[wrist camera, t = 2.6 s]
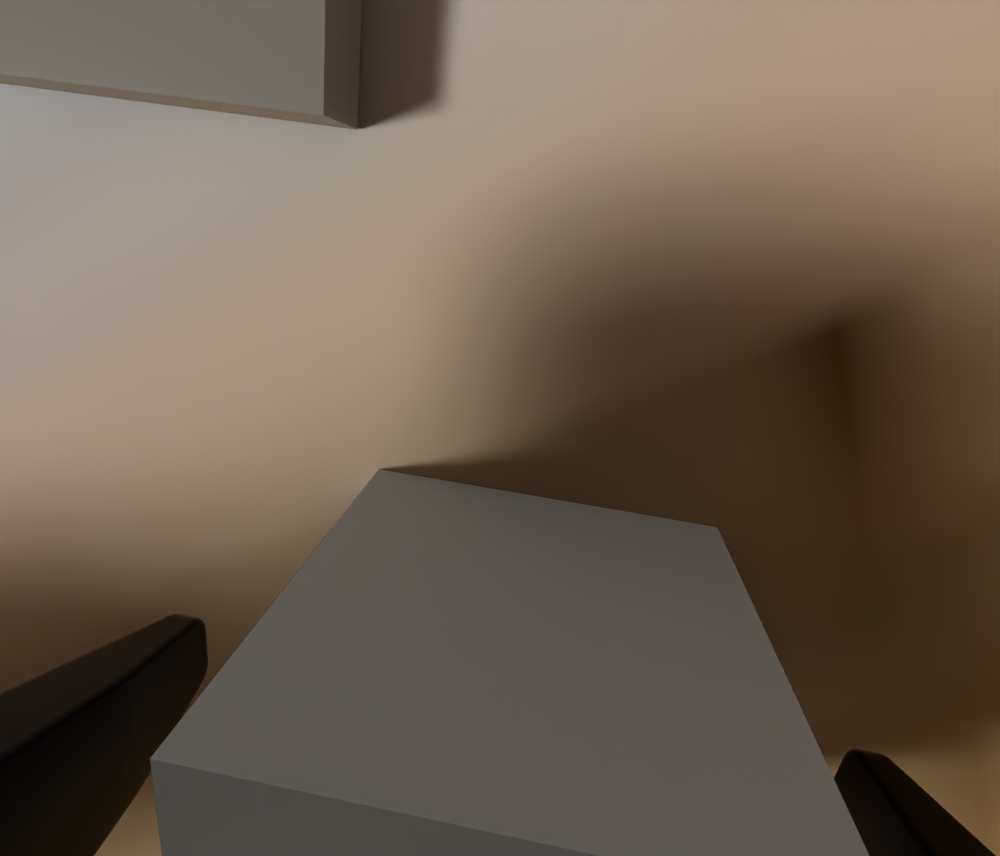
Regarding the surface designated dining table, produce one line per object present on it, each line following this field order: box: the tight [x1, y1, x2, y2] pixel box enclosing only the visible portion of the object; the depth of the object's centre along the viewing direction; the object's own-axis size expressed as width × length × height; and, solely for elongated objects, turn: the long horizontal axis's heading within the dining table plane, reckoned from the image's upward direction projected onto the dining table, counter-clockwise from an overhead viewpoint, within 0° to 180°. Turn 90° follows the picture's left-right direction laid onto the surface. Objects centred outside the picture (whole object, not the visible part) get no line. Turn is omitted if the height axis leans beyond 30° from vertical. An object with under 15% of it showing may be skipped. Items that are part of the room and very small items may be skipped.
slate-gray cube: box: [150, 469, 869, 856], centre depth 7 cm, size 5×5×5 cm
